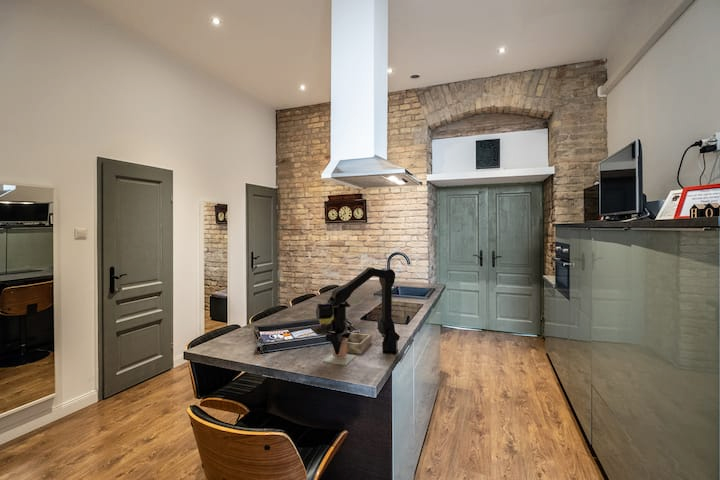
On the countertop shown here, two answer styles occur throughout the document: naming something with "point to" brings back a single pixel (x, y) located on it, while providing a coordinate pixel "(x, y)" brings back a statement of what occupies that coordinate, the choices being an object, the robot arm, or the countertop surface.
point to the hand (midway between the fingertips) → (339, 351)
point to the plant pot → (325, 320)
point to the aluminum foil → (258, 348)
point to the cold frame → (358, 347)
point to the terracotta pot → (342, 348)
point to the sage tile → (340, 359)
